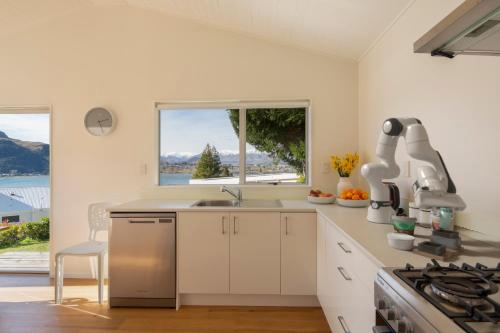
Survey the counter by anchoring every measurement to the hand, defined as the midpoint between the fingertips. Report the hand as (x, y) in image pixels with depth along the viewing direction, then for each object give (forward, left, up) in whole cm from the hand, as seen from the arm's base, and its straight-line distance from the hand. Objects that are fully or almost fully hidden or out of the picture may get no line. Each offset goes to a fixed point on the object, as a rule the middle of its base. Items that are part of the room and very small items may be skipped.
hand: (446, 216), depth 115 cm
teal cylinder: (0, -1, -5) cm, 5 cm away
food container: (-9, -22, -15) cm, 28 cm away
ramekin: (+13, -13, -15) cm, 24 cm away
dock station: (+6, -1, -15) cm, 16 cm away
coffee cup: (-15, -7, -15) cm, 23 cm away
